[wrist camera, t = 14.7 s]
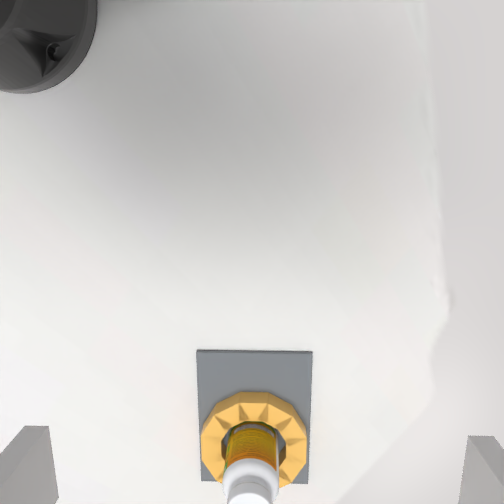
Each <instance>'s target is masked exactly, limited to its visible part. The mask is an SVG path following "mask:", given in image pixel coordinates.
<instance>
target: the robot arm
mask: <svg viewBox="0 0 504 504" xmlns="http://www.w3.org/2000/svg"><path fill="white" fill-rule="evenodd" d="M96 17H97V0H0V91H4V92H9V93H20V94H24V93H34V92H39V91H43V90H46V89H48V88H51V87H53V86H55V85H57V84H58V83H60V82H62V81H63V80H64V79H66V78H67V77H68V76H69V75H70V74H72V72H73V71H74V70H75V69H76V68H77V67H78V66H79V64H80V63H81V61H82V60H83V58H84V57H85V55H86V53H87V51H88V49H89V47H90V44H91V42H92V38H93V35H94V31H95V25H96ZM58 498H59V496H58V489H57V482H56V475H55V468H54V461H53V454H52V447H51V440H50V433H49V426H24V427H23V429H22V430H21V431H20V432H19V433H18V434H17V436H16V437H15V438H14V439H13V440H12V441H11V442H10V444H9V445H8V446H7V447H6V448H5V449H4V450H3V452H2V453H1V454H0V504H55V503H56V501H57V500H58ZM458 504H504V449H503V448H502V447H501V445H500V444H499V443H498V441H497V440H496V439H495V437H494V436H468V440H467V447H466V453H465V460H464V468H463V475H462V481H461V488H460V496H459V503H458Z"/></svg>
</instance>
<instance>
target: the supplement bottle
mask: <svg viewBox="0 0 504 504" xmlns="http://www.w3.org/2000/svg"><path fill="white" fill-rule="evenodd" d="M222 488H223V493H224V495H225V497H226V499H227V504H272V503H273V502H274V500H275V499H276V497H277V495H278V491H279V455H278V436H277V432H276V430H275V428H274V427H272V426H270V425H268V424H266V423H264V422H262V421H244V422H242V423H240V424H238V425H235V426H233V427H232V428H231V430H230V432H229V436H228V443H227V451H226V459H225V466H224V473H223V481H222Z"/></svg>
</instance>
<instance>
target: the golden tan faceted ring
mask: <svg viewBox="0 0 504 504" xmlns="http://www.w3.org/2000/svg"><path fill="white" fill-rule="evenodd" d="M244 421H262V422H264V423H266V424H268V425H270V426H272V427H274V428H276V429H278V431H279V432H280V434H281V435H282V437H283V438H284V440H285V446H284V447H283V449H282V450H281V451H280V453H279V454H278V455H279V488H281V487H283V486H285V485H287V484H290V483H292V481H293V480H294V479H295V477H296V476H297V474H298V473H299V472H300V470H301V469H302V468H303V466H304V465H305V464H306V449H307V435H306V428H305V425H304V423H303V422H302V420H301V419H300V417H299V415H298V414H297V412H296V411H295V409H294V407H293V406H292V405H291V404H289V403H287V402H285V401H284V400H282V399H280V398H278V397H276V396H274V395H272V394H270V393H269V392H239V393H237V394H235V395H233V396H231V397H229V398H227V399H225V400H223V401H221V402H219V403H217V404H216V405H215V407H214V408H213V410H212V412H211V413H210V415H209V416H208V418H207V419H206V421H205V423H204V424H203V429H202V433H201V454H202V461H203V463H204V464H205V465H206V467H207V468H208V470H209V471H210V473H211V474H212V475H213V477H214V478H215V480H216V481H218V482H220V483H222V481H223V473H224V466H225V459H226V451H227V448H226V446H225V445H224V443H223V438H224V436H225V434H226V433H227V431H228V430H229V428H231V427H233V426H235V425H238V424H240V423H242V422H244Z"/></svg>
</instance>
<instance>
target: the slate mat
mask: <svg viewBox="0 0 504 504" xmlns="http://www.w3.org/2000/svg"><path fill="white" fill-rule="evenodd" d="M196 358H197V383H198V408H199V433H200V458H201V481H216V480H215V478H214V477H213V475H212V474H211V473H210V471H209V470H208V468H207V467H206V465H205V464H204V463H203V461H202V454H201V433H202V429H203V424H204V423H205V421H206V419H207V418H208V416H209V415H210V413H211V412H212V410H213V408H214V407H215V405H216V404H217V403H219V402H221V401H223V400H225V399H227V398H229V397H231V396H233V395H235V394H237V393H239V392H269V393H270V394H272V395H274V396H276V397H278V398H280V399H282V400H284V401H285V402H287V403H289V404H291V405H292V406H293V407H294V409H295V411H296V412H297V414H298V415H299V417H300V419H301V420H302V422H303V423H304V425H305V428H306V435H307V449H306V464H305V465H304V466H303V468H302V469H301V470H300V472H299V473H298V474H297V476H296V477H295V479H294V480H293V481H292V484H308V465H309V437H310V409H311V380H312V352H284V351H218V350H197V352H196ZM231 428H232V427H231ZM231 428H229V430H228V431H227V433H226V434H225V436H224V438H223V443H224V445H225V446H226V448H227V443H228V436H229V432H230V430H231ZM275 430H276V432H277V436H278V454H279V453H280V451H281V450H282V449H283V447H284V446H285V440H284V438H283V437H282V435H281V434H280V432H279V431H278V429H276V428H275Z"/></svg>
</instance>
